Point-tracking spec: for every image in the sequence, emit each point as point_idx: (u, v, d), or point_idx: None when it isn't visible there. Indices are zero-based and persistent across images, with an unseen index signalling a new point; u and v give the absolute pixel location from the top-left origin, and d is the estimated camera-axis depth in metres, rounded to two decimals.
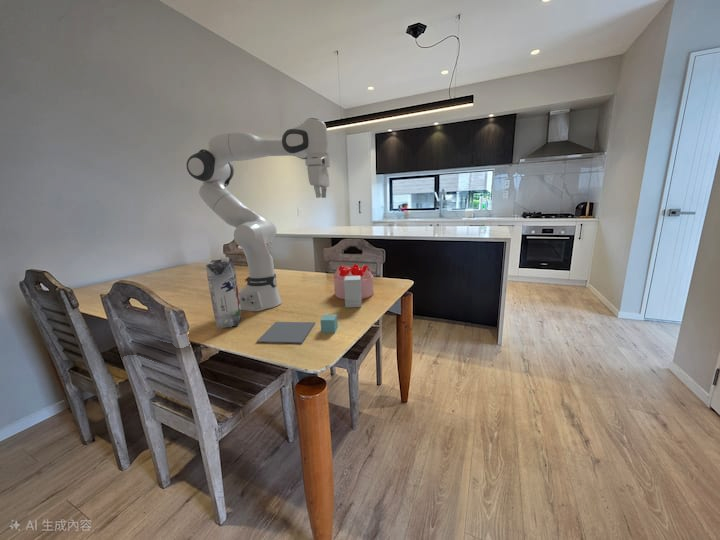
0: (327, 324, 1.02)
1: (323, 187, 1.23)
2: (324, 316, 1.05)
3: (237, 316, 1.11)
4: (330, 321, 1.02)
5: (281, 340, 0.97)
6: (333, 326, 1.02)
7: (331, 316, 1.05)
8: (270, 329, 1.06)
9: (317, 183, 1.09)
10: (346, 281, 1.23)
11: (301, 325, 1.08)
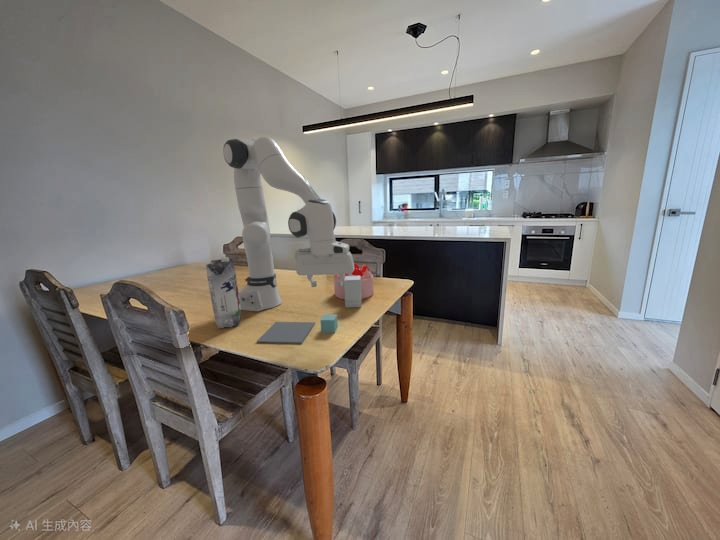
0: (327, 324, 1.02)
1: (311, 275, 1.01)
2: (324, 316, 1.05)
3: (237, 316, 1.11)
4: (330, 321, 1.02)
5: (281, 340, 0.97)
6: (333, 326, 1.02)
7: (331, 316, 1.05)
8: (270, 329, 1.06)
9: None
10: (346, 281, 1.23)
11: (301, 325, 1.08)
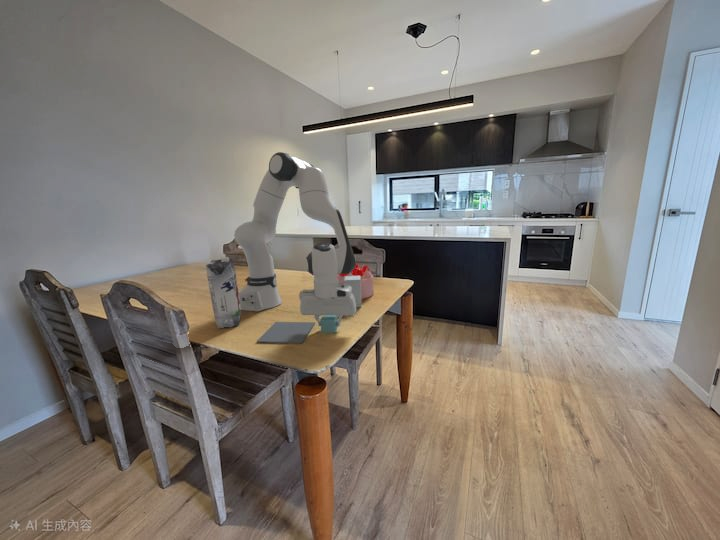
0: (327, 323, 1.02)
1: (319, 314, 1.04)
2: (324, 316, 1.05)
3: (237, 316, 1.11)
4: (330, 321, 1.01)
5: (281, 340, 0.97)
6: (333, 326, 1.02)
7: (331, 316, 1.05)
8: (270, 329, 1.06)
9: None
10: (346, 281, 1.23)
11: (301, 325, 1.08)
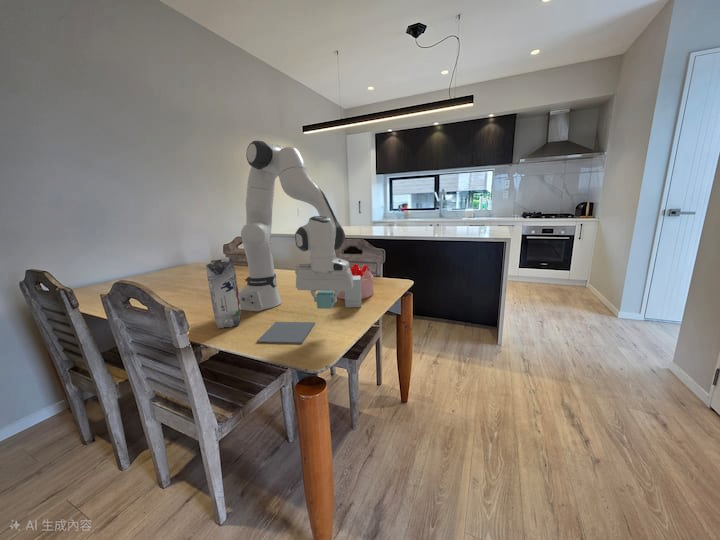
0: (323, 299, 0.99)
1: (315, 290, 1.02)
2: (320, 292, 1.02)
3: (237, 316, 1.11)
4: (326, 296, 0.99)
5: (281, 340, 0.97)
6: (329, 301, 0.99)
7: (327, 291, 1.02)
8: (270, 329, 1.06)
9: None
10: None
11: (301, 325, 1.08)
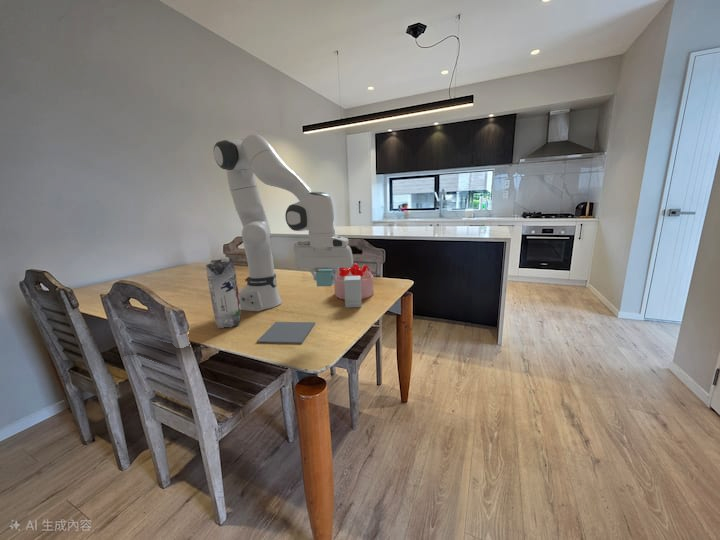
0: (322, 276, 0.98)
1: (314, 268, 1.00)
2: (320, 270, 1.01)
3: (237, 316, 1.11)
4: (326, 273, 0.97)
5: (281, 340, 0.97)
6: (329, 279, 0.98)
7: (327, 269, 1.01)
8: (270, 329, 1.06)
9: None
10: (346, 281, 1.23)
11: (301, 325, 1.08)
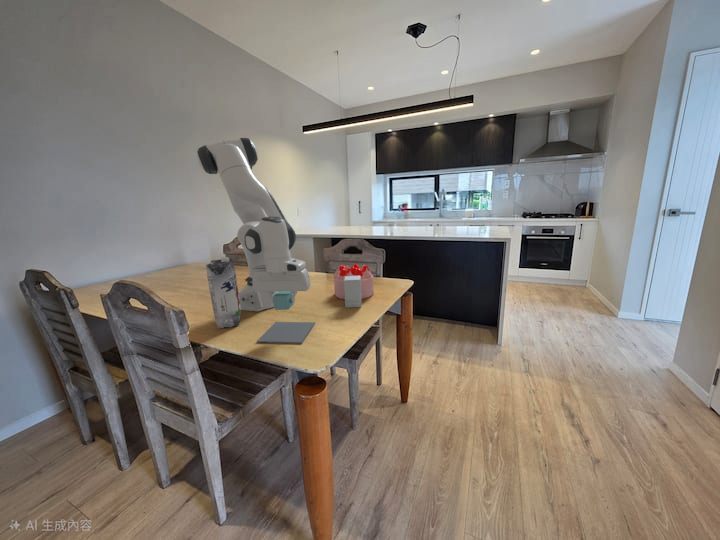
0: (279, 300, 0.98)
1: None
2: (278, 293, 1.01)
3: (237, 316, 1.11)
4: (283, 297, 0.98)
5: (281, 340, 0.97)
6: (286, 302, 0.98)
7: (285, 292, 1.01)
8: (270, 329, 1.06)
9: None
10: (346, 281, 1.23)
11: (301, 325, 1.08)
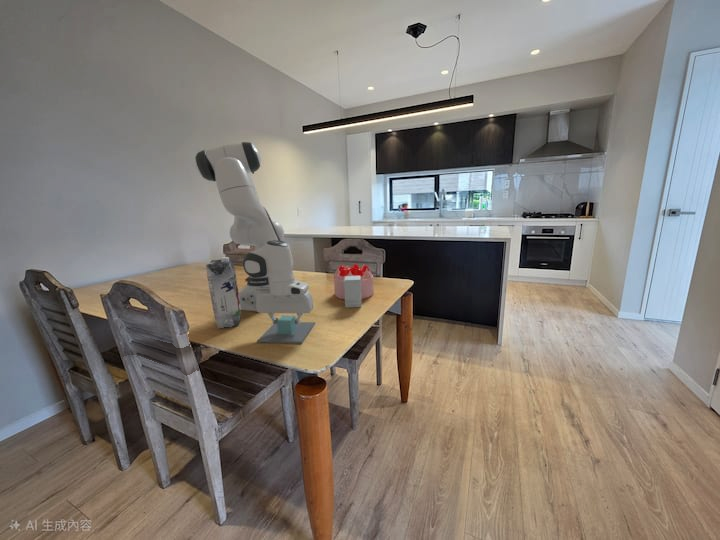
0: (283, 325, 1.01)
1: None
2: (282, 317, 1.04)
3: (237, 316, 1.11)
4: (286, 322, 1.01)
5: (281, 340, 0.97)
6: (289, 327, 1.01)
7: (289, 317, 1.04)
8: (270, 329, 1.06)
9: None
10: (346, 281, 1.23)
11: (301, 325, 1.08)
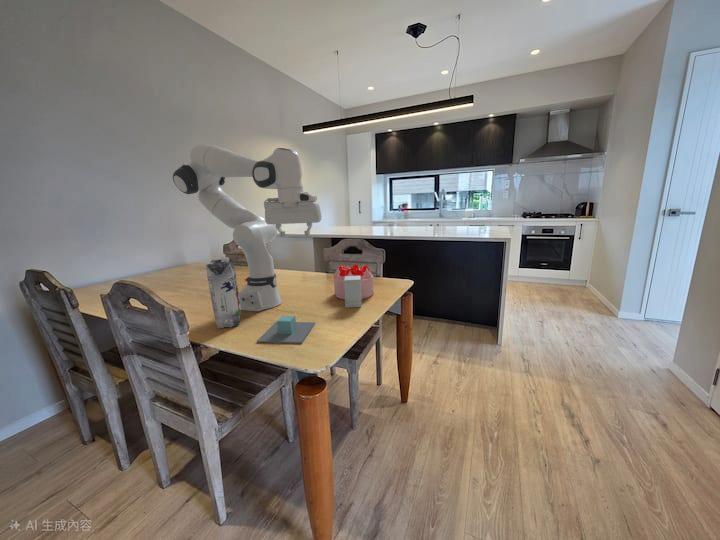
0: (283, 325, 1.01)
1: (280, 224, 1.04)
2: (282, 317, 1.04)
3: (237, 316, 1.11)
4: (286, 322, 1.01)
5: (281, 340, 0.97)
6: (289, 327, 1.01)
7: (289, 317, 1.04)
8: (270, 329, 1.06)
9: (320, 220, 1.03)
10: (346, 281, 1.23)
11: (301, 325, 1.08)
